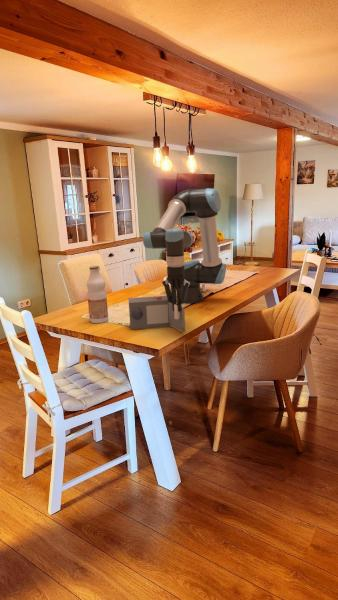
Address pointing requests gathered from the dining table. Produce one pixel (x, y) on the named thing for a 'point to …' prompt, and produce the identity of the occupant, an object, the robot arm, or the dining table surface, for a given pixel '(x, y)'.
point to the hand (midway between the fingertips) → (177, 318)
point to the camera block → (149, 312)
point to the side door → (174, 322)
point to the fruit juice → (97, 296)
